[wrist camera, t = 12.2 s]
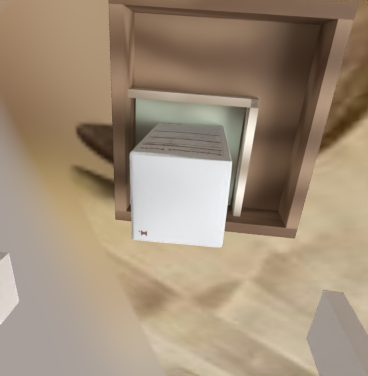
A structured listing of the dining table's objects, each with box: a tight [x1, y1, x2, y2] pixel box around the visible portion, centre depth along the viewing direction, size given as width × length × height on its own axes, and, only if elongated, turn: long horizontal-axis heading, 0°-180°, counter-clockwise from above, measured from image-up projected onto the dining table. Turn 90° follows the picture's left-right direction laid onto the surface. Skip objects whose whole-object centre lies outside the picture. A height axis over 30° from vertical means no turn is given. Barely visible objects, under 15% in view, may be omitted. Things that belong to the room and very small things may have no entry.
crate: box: [109, 0, 358, 238], centre depth 29 cm, size 22×20×4 cm
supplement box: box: [130, 123, 232, 247], centre depth 26 cm, size 7×7×13 cm
